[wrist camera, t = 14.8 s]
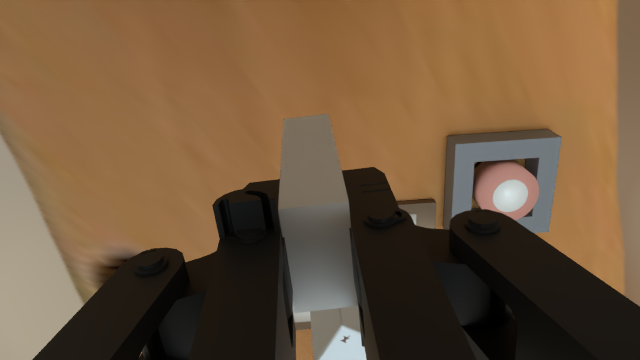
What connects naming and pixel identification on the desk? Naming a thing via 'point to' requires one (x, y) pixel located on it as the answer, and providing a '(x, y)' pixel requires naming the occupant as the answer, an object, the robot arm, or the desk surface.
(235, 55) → the desk surface
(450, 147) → the button base
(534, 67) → the desk surface
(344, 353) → the skincare box
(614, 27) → the desk surface
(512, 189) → the button
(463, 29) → the desk surface
